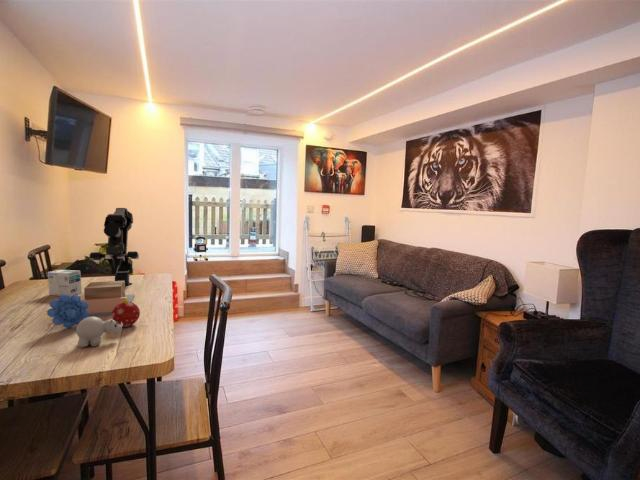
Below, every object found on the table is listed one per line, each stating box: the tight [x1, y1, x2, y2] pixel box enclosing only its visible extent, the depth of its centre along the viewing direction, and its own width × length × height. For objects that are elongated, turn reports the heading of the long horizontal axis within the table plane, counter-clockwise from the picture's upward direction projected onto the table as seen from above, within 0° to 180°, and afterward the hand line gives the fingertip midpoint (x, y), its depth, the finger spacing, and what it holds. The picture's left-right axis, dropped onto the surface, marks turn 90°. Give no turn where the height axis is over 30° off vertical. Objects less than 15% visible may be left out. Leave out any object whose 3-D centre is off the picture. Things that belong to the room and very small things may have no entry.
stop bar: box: [80, 297, 127, 313], centre depth 127 cm, size 2×16×5 cm, turn 113°
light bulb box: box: [47, 269, 83, 297], centre depth 152 cm, size 11×7×11 cm, turn 84°
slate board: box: [89, 294, 135, 317], centre depth 138 cm, size 25×16×1 cm, turn 23°
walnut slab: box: [83, 280, 126, 300], centre depth 132 cm, size 10×12×7 cm
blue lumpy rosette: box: [46, 294, 90, 329], centre depth 112 cm, size 12×7×12 cm, turn 137°
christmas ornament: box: [111, 298, 141, 328], centre depth 116 cm, size 9×9×10 cm
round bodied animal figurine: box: [75, 316, 123, 348], centre depth 102 cm, size 7×12×8 cm, turn 121°
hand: (114, 274), depth 151 cm, fingers closed
